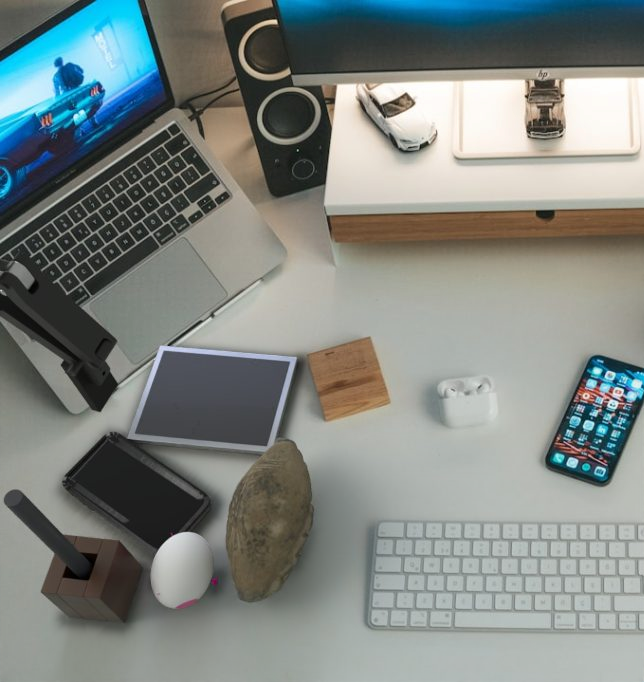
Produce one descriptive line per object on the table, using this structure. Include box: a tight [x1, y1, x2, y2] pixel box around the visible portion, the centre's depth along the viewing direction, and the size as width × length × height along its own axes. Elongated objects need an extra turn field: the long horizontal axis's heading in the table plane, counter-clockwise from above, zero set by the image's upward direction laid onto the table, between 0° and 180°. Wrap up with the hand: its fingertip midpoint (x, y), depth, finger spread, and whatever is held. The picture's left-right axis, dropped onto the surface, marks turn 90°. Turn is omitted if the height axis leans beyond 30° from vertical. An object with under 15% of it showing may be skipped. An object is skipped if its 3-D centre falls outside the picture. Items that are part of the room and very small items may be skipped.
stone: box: [225, 437, 315, 603], centre depth 107 cm, size 17×9×8 cm, turn 179°
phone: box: [61, 431, 213, 556], centre depth 113 cm, size 8×1×15 cm
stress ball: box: [149, 531, 218, 610], centre depth 106 cm, size 8×8×7 cm
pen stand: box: [39, 533, 143, 624], centre depth 105 cm, size 6×6×7 cm
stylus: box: [3, 488, 94, 581], centre depth 99 cm, size 2×2×22 cm
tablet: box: [126, 345, 299, 456], centre depth 119 cm, size 16×12×1 cm
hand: (30, 374), depth 86 cm, fingers open, 13 cm apart
